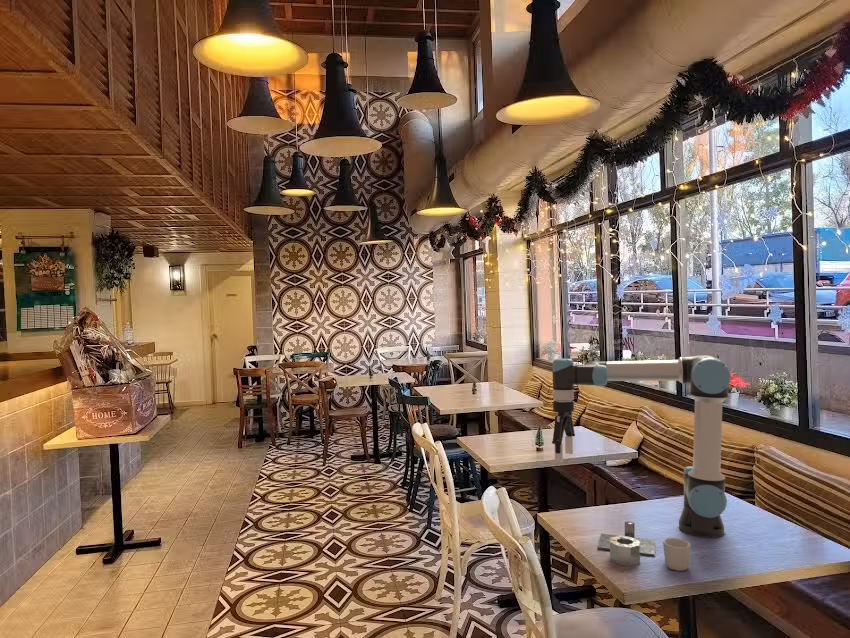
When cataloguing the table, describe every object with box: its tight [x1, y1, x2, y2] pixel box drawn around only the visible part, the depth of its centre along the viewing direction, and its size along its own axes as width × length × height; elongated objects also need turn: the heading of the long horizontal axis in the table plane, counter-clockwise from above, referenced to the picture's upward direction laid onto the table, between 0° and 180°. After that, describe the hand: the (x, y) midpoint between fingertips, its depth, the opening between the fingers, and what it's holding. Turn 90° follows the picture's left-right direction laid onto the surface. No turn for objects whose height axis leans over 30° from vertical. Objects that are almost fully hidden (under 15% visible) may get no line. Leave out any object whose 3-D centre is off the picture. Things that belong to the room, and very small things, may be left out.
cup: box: [662, 537, 692, 572], centre depth 188 cm, size 11×8×8 cm
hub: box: [609, 535, 641, 567], centre depth 193 cm, size 9×9×6 cm
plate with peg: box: [597, 520, 656, 558], centre depth 204 cm, size 18×13×8 cm
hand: (564, 457), depth 220 cm, fingers open, 13 cm apart
